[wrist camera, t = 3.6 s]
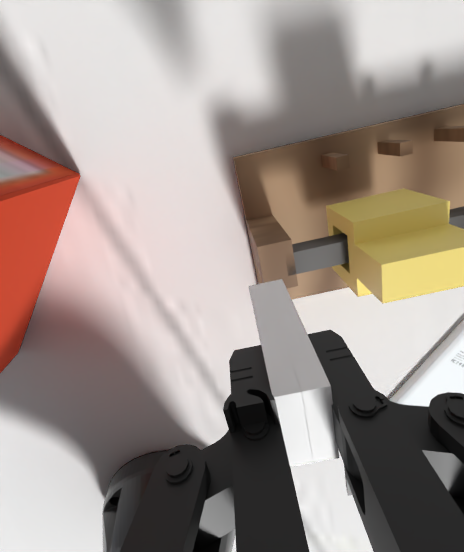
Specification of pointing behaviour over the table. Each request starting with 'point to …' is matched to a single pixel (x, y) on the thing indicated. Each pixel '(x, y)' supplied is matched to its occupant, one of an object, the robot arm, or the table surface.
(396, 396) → the external hard drive
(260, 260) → the comb stand
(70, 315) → the table surface
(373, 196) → the sleeve
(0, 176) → the file binder
